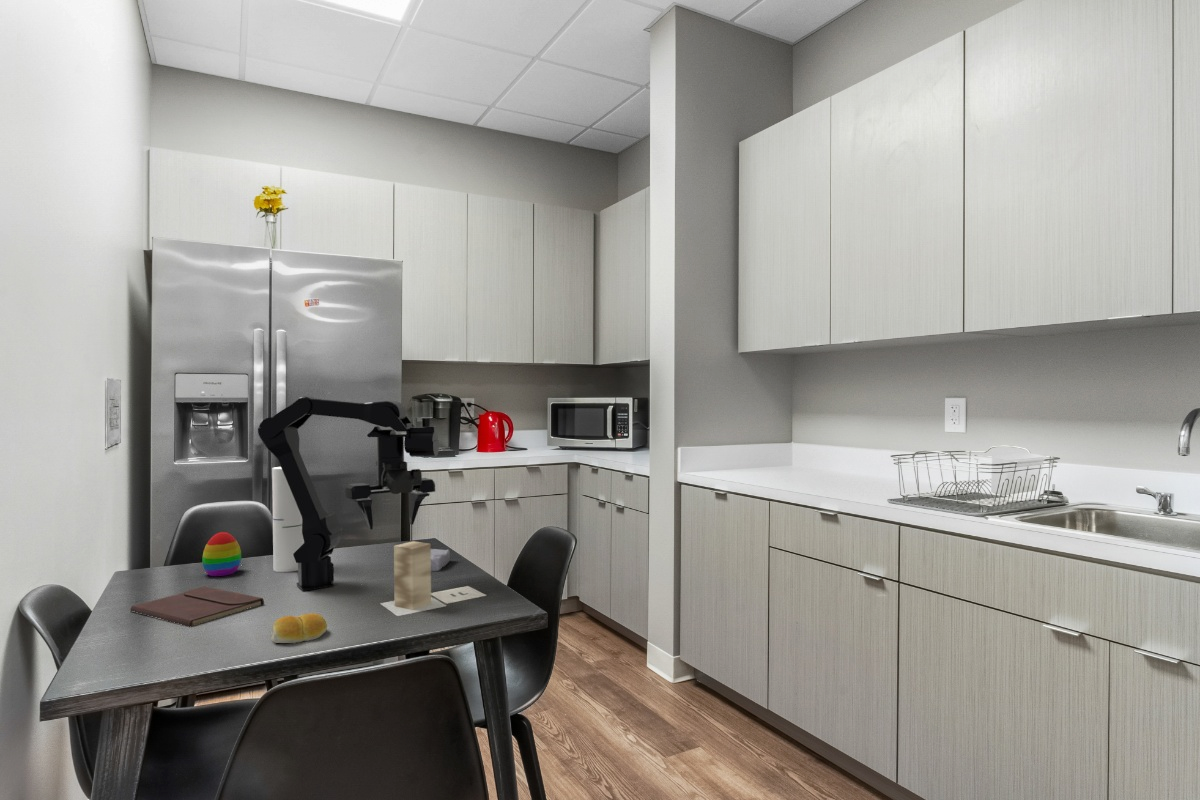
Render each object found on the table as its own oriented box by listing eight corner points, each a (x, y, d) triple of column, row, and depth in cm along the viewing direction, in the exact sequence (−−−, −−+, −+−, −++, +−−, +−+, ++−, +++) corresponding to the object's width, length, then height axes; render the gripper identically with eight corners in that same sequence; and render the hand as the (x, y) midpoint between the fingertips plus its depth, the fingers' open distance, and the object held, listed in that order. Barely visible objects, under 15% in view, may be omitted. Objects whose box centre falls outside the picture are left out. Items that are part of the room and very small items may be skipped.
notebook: (189, 629, 123) (189, 618, 123) (130, 614, 132) (130, 604, 132) (264, 606, 136) (263, 597, 136) (205, 594, 146) (205, 585, 146)
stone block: (400, 581, 160) (441, 572, 160) (396, 561, 160) (437, 552, 160) (415, 570, 172) (453, 562, 172) (411, 552, 172) (449, 543, 172)
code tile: (446, 605, 134) (446, 603, 134) (428, 594, 142) (428, 593, 142) (486, 596, 140) (486, 595, 140) (468, 587, 147) (468, 585, 147)
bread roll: (331, 638, 117) (331, 615, 117) (275, 649, 112) (274, 625, 112) (321, 625, 124) (321, 603, 124) (267, 635, 119) (267, 612, 119)
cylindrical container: (284, 564, 170) (283, 465, 170) (311, 565, 169) (309, 466, 169) (267, 571, 163) (265, 468, 163) (294, 572, 162) (293, 469, 162)
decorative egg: (220, 568, 166) (220, 528, 166) (249, 570, 165) (248, 529, 165) (194, 577, 158) (193, 535, 158) (224, 578, 157) (223, 536, 157)
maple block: (394, 606, 133) (393, 546, 133) (413, 599, 137) (412, 541, 137) (412, 610, 131) (412, 548, 131) (431, 603, 135) (430, 543, 135)
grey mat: (397, 617, 127) (397, 616, 127) (380, 604, 135) (380, 603, 135) (446, 607, 133) (446, 605, 133) (427, 595, 141) (427, 594, 141)
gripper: (359, 462, 138) (360, 538, 138) (444, 456, 149) (445, 527, 149) (343, 458, 147) (344, 530, 147) (425, 453, 158) (426, 520, 158)
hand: (391, 526), depth 150 cm, fingers open, 9 cm apart
